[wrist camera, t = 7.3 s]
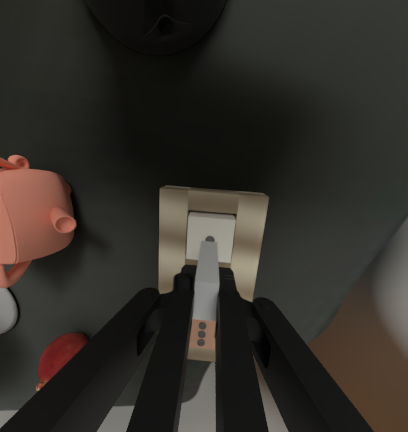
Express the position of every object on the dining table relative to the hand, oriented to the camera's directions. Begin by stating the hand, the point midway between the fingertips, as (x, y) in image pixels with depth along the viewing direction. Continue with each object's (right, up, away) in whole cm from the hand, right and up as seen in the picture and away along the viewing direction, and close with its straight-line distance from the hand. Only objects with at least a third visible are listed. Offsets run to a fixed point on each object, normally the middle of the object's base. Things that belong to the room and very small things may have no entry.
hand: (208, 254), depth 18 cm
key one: (0, +2, +6) cm, 6 cm away
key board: (0, -4, +9) cm, 10 cm away
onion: (-20, -16, +13) cm, 29 cm away
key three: (-1, -11, +10) cm, 15 cm away
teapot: (-20, +5, +8) cm, 22 cm away
